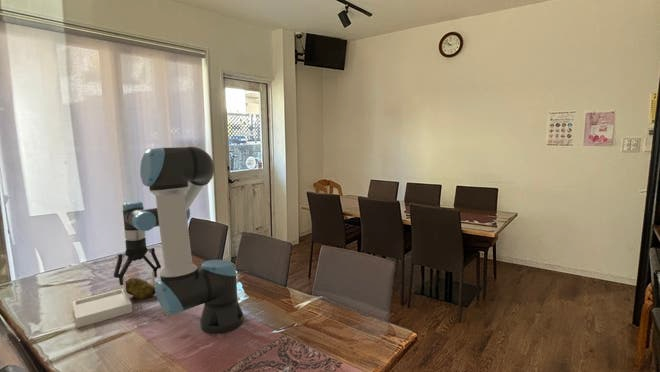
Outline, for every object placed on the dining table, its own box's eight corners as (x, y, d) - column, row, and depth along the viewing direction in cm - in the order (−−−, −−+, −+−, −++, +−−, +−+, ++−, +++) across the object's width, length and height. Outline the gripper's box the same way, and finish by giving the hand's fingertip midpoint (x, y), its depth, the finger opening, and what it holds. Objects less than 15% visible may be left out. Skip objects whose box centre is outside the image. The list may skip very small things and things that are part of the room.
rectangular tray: (132, 312, 141) (131, 303, 141) (77, 327, 130) (75, 318, 130) (124, 296, 155) (123, 288, 155) (73, 309, 144) (72, 300, 144)
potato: (141, 303, 148) (140, 285, 147) (121, 298, 154) (119, 280, 153) (159, 295, 156) (157, 277, 155) (138, 290, 161) (137, 273, 160)
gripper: (162, 231, 161) (165, 278, 164) (102, 241, 147) (106, 292, 150) (166, 235, 155) (170, 284, 159) (104, 245, 141) (109, 298, 144)
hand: (139, 288), depth 154 cm, fingers open, 10 cm apart
